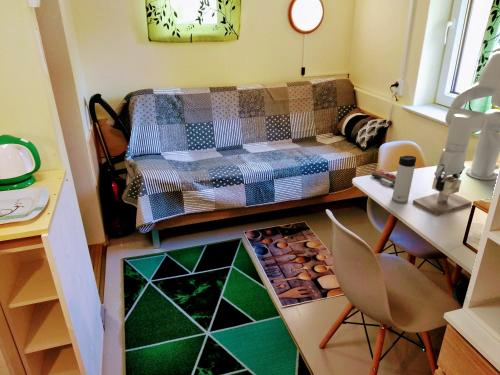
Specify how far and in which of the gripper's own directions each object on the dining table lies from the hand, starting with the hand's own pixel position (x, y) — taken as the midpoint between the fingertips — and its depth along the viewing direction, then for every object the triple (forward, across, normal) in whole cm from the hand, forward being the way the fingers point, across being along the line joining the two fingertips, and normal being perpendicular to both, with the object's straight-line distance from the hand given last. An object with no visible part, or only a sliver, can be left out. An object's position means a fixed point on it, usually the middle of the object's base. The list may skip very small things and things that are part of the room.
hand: (445, 187), depth 154 cm
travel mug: (+8, +13, -10) cm, 18 cm away
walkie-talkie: (+8, +3, -25) cm, 26 cm away
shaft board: (+8, 0, 0) cm, 8 cm away
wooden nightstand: (+1, 0, 0) cm, 1 cm away
